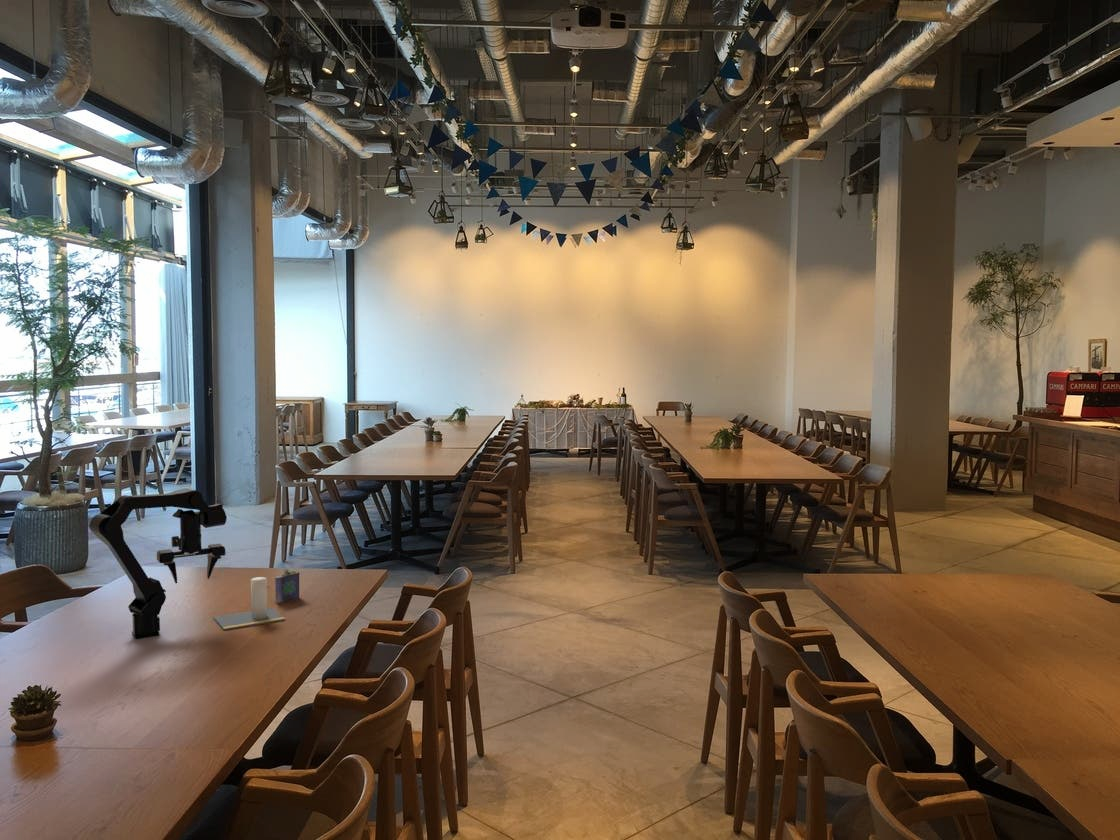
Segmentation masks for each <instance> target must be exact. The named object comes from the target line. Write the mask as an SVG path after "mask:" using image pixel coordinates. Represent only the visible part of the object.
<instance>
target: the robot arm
mask: <svg viewBox="0 0 1120 840" xmlns="http://www.w3.org/2000/svg"><path fill="white" fill-rule="evenodd" d="M169 507H170V508H178V509H177V510H176V511H175V512H174V513H173V514H172V517H173V518H176V519H177V518H178V519H179V526H180V531H179V532H180V533H179V535H180V537H179V535H173V536H172V537H171V538H170V540H171V548H177V549H178V551H173V550H172V549H170V548H169V549H162V550H157V552H156V561H157V562H158V563H159V564H163V566H167V567H168V569H169V571H170V574H171V576H172V579H173V581H174V583H175V584H178V574H177V567H176V565H177V564H176V562H175V561H174V560H175V559H177V558H178V559H179V558H186V557H187V558H188V557H196V556H203V555H206V556H207V565H206V566H207V567H206V578H207V579H208V580H210V578H211V575H212V573H213V571H214V567H215V565H216V564H217V562H218V560H221V559H222V556H226V548H225V546H223V545H222V544H221V543H213V544H211V543H210V544H208V545H207V547H203V548H202V527H203V528H204V529H208V528H214V527H220V526H224V525H226V523H227V513H226V511H225V509H224V508H223V504H221V503H215V504H212V505H208V504H207V502H206V501H205V500H204V497H203V494H202V493H201V492H200V491H199V490H196V489H191V488H181V489H175V490H173V491H170V492H168V493H156V494H135V495H128V494H127V495H126V494H124V495H120V496H119V498H117V499H116V500H114V502H113V503H111V504H110V505H108V506H107V507H105V508H104V509H103V510H102V511H101V512H100V513H99V514H96V515H94V516H93V517H92V518H90V522H89V524H88V527H89V529H90V530H89V531H91V532H92V534H94V536H95V537H97V538H98V540H100V541H101V542H102V543H104V544H105V545H106V546H107V547H108V549H109V550H110V551H111V553H112V554H113V556H114V557H115V559H116V561H117V562H118V565H119V566H120V567H121V568H122V570H123V571H124V574H125V575H126V576H127V578H128V580H129V581H130V583H132V588H133V589H132V590H133V591H132V592H133V594H134V597H135V598H134V599H133V600H132V601H131V603H130V604H129V605H128V606H127V608H128V611H129V613H131V614H132V615H131V617H132V631H131V634H132V636H133V638H134V639H142V638H147V637H154V636H158V635H160V631H161V622H160V620H161V619H160V616H159V615H160V613H161V609H162V606H163V605H164V604H165V602H166V598H167V596H166V592H167V590H166V589H165V588H163V586H162V583H161V582H160V580H158V579H157V578H153V577H151V576H150V577H148V575H147V574H146V571H145V570H144V569H143V568H142V565H141V564H140V563H139V561H138V560H137V558H136V556H135V555H134V554H133V552H132V550H131V549H130V547H129V546H128V544H127V543H126V541H125V537H124V530H123V528H122V526H123V524H124V523H125V522H126V521H127V519H128V517H129V516H130V514H131V513H132V512H133V511H134V510H140V509H141V510H142V509H143V510H145V509H154V508H155V509H158V508H169ZM183 509H187V510H183ZM195 510H196V511H195Z"/></svg>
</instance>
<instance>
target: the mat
mask: <svg viewBox="0 0 1120 840" xmlns="http://www.w3.org/2000/svg"><path fill="white" fill-rule="evenodd" d="M267 613H268V617H267V618H264V619H252V610H250V611H243V612H238V613H236V612H235V613H229V614H224V615H223V614H222V615H217V616H213V620H214V621H215V622H216V623H217V624H218V625H219V627H220V628H221V629H222V630H223V631H229V630H236V629H241V628H247V627H253V626H254V627H255V626H259V625H265V624H266V625H267V624H271V623H277V622H283V621H286V618H285V617H284V616H283V615H281V614H280V613H279V611H277V610H276V609H274V608H273V607H267Z"/></svg>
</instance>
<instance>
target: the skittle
mask: <svg viewBox="0 0 1120 840" xmlns="http://www.w3.org/2000/svg"><path fill="white" fill-rule="evenodd" d="M267 579H268V578H267V577H265V576H264V577H263V576H258V577H253V578H251V579H250V591H251V593H250V594H251V596H250V597H251V601H250V602H251V611H252V619H264V618H267V617H268V613H267V608H268V586H267V585H268V582H267V581H268V580H267Z"/></svg>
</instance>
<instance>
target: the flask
mask: <svg viewBox="0 0 1120 840" xmlns="http://www.w3.org/2000/svg"><path fill="white" fill-rule="evenodd" d="M282 571H284V572H283V574H281V575H278V576H275V577H274V581H275V582H274V583H275V587H274V589H275V600H274V601H275V604H276V605H280V604H284V603H288V602H291V601H295V600H296V601H297V600H299V599H300V572H299V571H294V570H292V571H289V569H288V568H284V569H283V570H282Z"/></svg>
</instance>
